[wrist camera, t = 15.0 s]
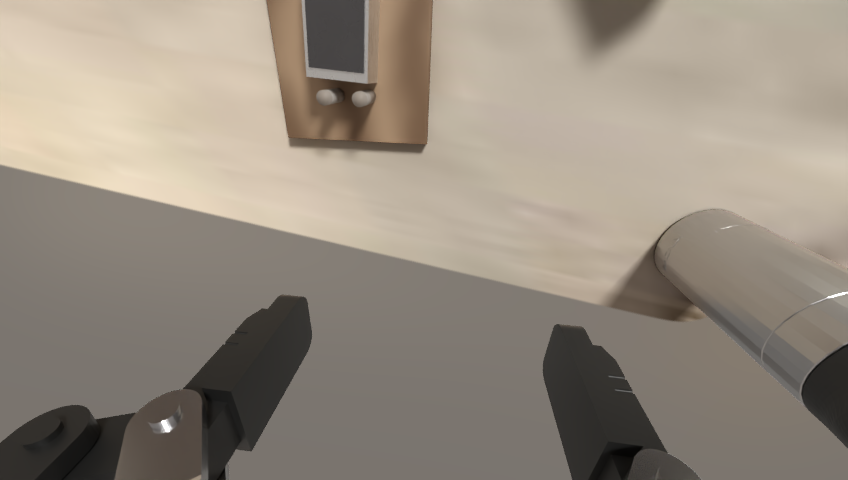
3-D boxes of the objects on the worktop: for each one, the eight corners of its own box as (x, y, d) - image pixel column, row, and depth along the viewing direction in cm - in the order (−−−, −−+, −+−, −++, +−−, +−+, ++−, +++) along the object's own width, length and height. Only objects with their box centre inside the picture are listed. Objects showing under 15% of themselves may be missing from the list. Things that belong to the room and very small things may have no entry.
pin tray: (437, -140, 23) (435, -194, 18) (427, 142, 32) (423, 153, 28) (251, -142, 24) (204, -194, 19) (293, 135, 33) (268, 145, 28)
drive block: (381, -45, 25) (369, -65, 21) (377, 82, 29) (367, 83, 25) (318, -52, 25) (295, -74, 21) (323, 76, 29) (305, 76, 25)
